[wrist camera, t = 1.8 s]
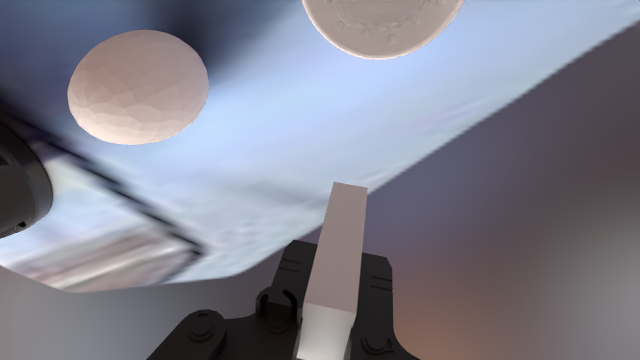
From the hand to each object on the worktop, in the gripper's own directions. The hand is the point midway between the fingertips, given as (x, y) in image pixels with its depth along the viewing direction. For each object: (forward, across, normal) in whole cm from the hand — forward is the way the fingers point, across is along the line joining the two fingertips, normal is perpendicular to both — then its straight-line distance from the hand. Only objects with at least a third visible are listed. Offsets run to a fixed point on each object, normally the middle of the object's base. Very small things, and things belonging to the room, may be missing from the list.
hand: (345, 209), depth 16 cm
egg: (+15, -16, 0) cm, 22 cm away
